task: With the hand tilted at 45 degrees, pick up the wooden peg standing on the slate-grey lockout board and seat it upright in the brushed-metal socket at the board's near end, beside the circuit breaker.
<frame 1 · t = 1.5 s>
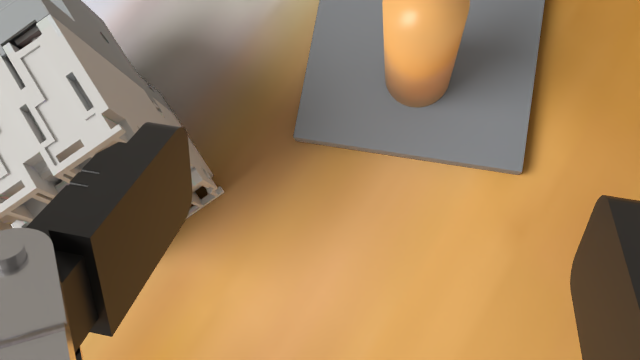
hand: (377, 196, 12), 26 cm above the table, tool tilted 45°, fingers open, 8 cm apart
wooden peg: (417, 76, 38), point 1 cm above the table, touching lockout board
circuit breaker: (123, 138, 41), on the table
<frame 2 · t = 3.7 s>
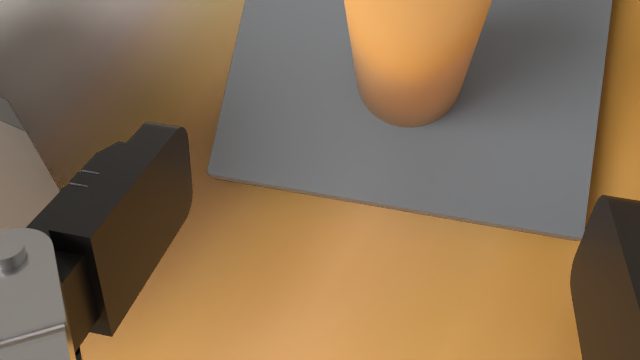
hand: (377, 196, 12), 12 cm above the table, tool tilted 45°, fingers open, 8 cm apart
wooden peg: (409, 76, 23), point 1 cm above the table, touching lockout board
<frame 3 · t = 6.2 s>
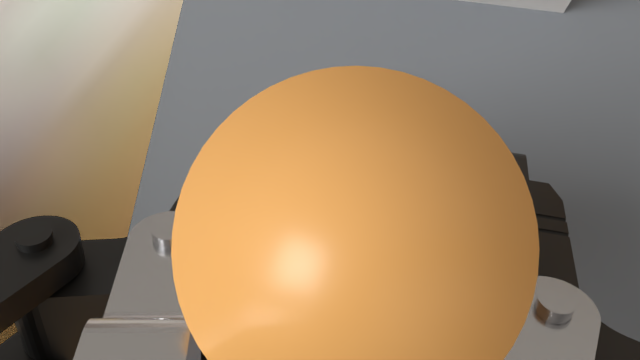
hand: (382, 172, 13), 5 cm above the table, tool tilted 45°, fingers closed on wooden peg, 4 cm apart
wooden peg: (373, 271, 16), point 1 cm above the table, touching gripper, lockout board
lockout board: (408, 73, 18), on the table
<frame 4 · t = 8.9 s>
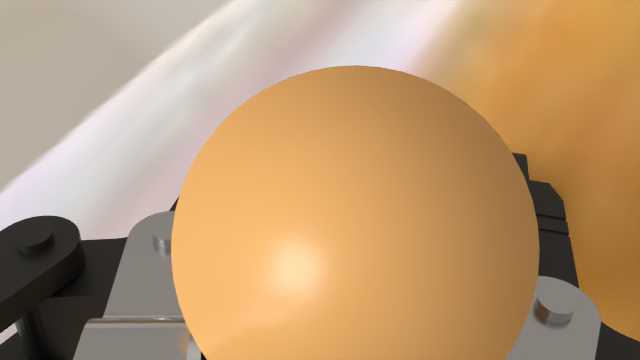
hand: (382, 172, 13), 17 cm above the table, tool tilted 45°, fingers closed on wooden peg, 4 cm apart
wooden peg: (373, 271, 16), point 13 cm above the table, touching gripper
when the fingers open (6 cm above the table, at t = 12.0 s): wooden peg drops 1 cm, resting on lockout board.
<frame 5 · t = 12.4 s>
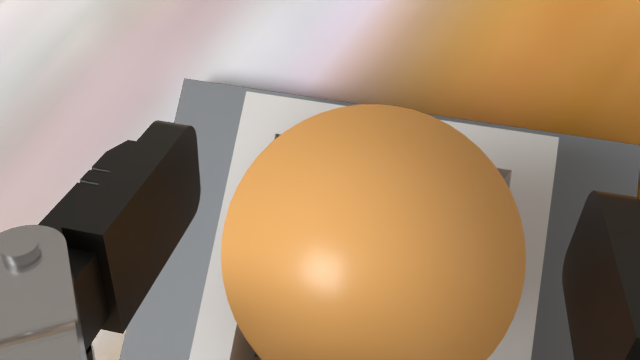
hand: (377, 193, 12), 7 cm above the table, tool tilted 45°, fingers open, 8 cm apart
wooden peg: (374, 275, 18), point 1 cm above the table, touching lockout board
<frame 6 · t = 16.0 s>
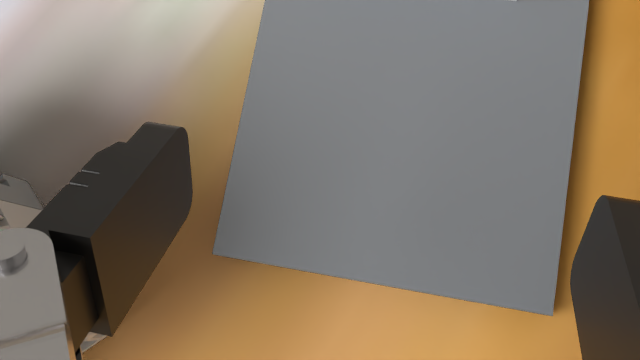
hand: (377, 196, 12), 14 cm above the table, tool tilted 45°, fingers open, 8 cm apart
lockout board: (416, 41, 28), on the table
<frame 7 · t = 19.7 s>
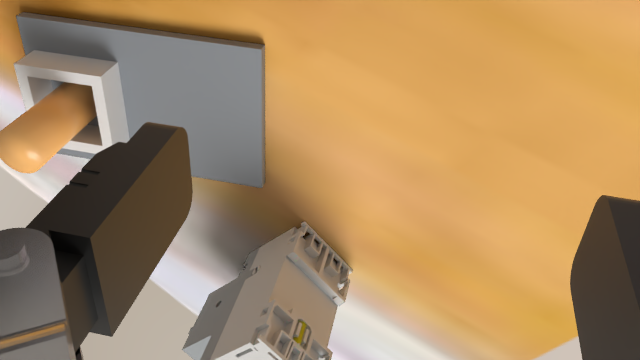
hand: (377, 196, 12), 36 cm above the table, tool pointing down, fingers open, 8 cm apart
wooden peg: (83, 96, 56), point 1 cm above the table, touching lockout board
lockout board: (149, 100, 56), on the table
circuit breaker: (280, 271, 65), on the table
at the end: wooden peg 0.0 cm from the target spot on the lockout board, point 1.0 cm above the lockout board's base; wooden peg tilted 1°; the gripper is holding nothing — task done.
